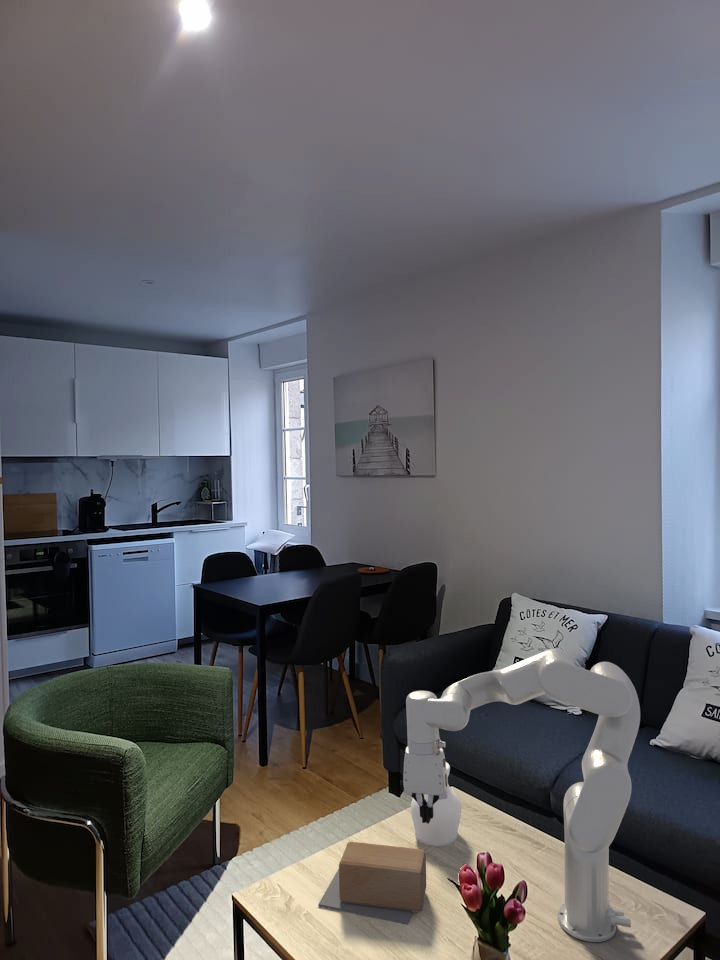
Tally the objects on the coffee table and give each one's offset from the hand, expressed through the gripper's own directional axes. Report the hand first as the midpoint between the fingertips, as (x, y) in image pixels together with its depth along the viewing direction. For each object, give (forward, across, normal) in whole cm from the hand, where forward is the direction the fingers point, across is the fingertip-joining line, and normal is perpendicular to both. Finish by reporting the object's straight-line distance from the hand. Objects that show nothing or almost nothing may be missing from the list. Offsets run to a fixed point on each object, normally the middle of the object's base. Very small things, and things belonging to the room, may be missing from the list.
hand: (426, 820), depth 161 cm
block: (+14, +1, +1) cm, 14 cm away
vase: (+20, +4, -29) cm, 36 cm away
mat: (+20, +14, 0) cm, 24 cm away
